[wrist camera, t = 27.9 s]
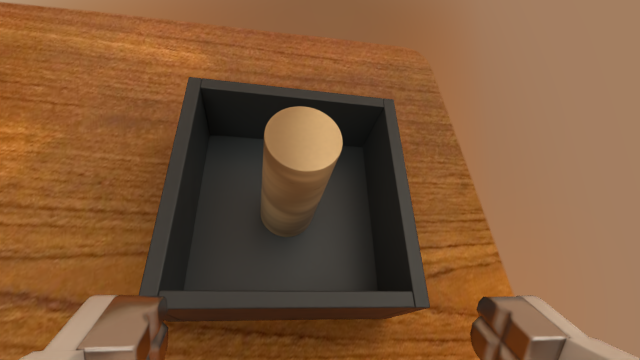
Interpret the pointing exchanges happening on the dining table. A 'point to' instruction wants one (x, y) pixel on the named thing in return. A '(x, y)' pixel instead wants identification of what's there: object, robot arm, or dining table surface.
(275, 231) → the dowel
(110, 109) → the dining table surface
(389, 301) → the bin
